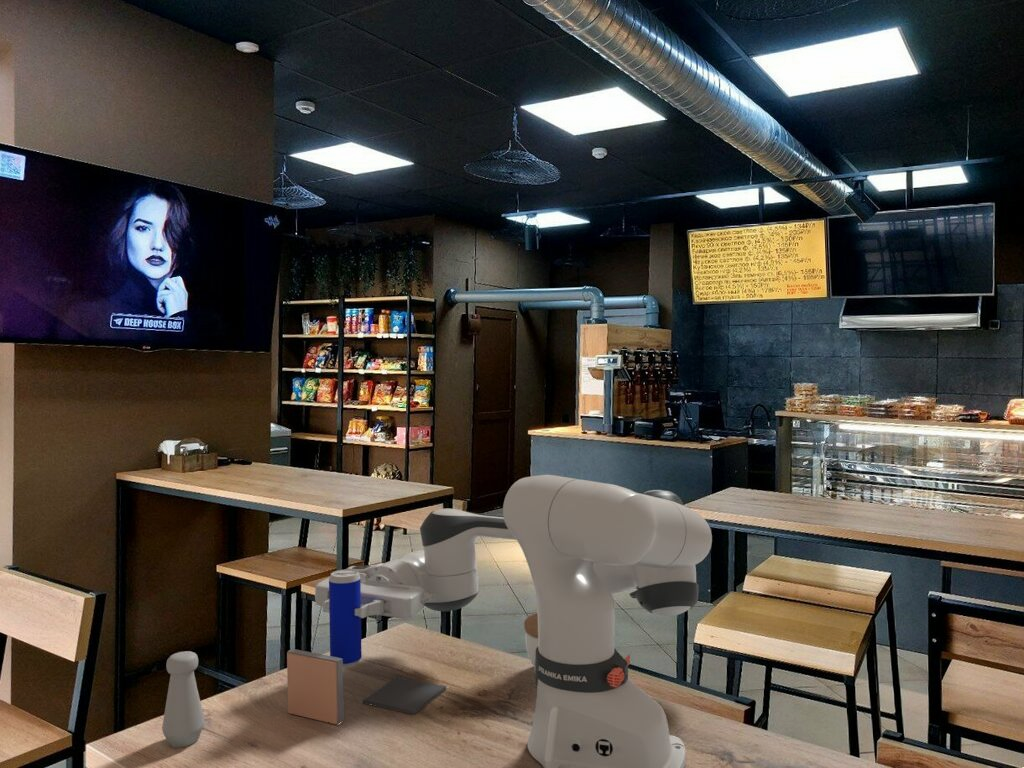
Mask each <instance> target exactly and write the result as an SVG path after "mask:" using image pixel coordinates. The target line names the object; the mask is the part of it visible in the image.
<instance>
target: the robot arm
mask: <svg viewBox="0 0 1024 768" xmlns="http://www.w3.org/2000/svg"><path fill="white" fill-rule="evenodd" d="M419 531H420V538H421V542H422V547H423V549H420V550H415V551H410V552H408V553H406V554H404V555H401V556H399V557H398V558H397V559H392V560H389V561H387V562H385V563H384V562H381V563H376V564H371V565H369V564H368V565H351V566H349V567H347V568H346V569H351V570H356V571H358V572H359V575H360V579H361V604H360V605H358V606H356V607H355V610H354V611H355V617H358V618H361V619H364V618H365V619H366V617H369V616H377V615H378V616H384V617H390V618H396V619H403V620H404V619H405V620H406V619H412V618H413V617H415V616H416V615H418V614H419V613H420V612H421V611H423V609H424V608H425V607H426V608H428V609H430V610H432V611H437V612H453V611H457V610H460V609H463V608H464V607H466V606H467V605H469V604H470V603H471V602H472V601H474V600H475V599H476V597H477V595H478V594H479V592H480V591H479V575H478V566H477V556H476V545H475V541H476V538H477V537H482V538H483V537H484V538H491V539H492V538H493V539H494V538H495V539H503V540H513V541H514V540H515V541H516V542H517V543H518V544H519V546H520V548H521V551H522V553H523V555H524V558H525V560H526V562H527V565H528V569H529V573H530V576H531V580H532V583H533V587H534V590H535V591H534V592H535V597H536V610H537V611H536V613H537V615H538V647H537V648H536V653H535V666H534V677H535V685H536V686H537V687H536V699H535V706H534V707H535V709H534V714H533V721H532V725H531V729H530V733H529V736H528V741H527V750H528V752H529V753H530V755H531V756H532V757H533V758H534V759H535V760H536V761H537V762H538V763H540V764H541V765H542V767H543V768H685V765H686V760H687V754H686V753H687V752H686V747H685V744H684V742H683V740H682V738H681V737H680V738H679V737H677V736H675V735H672V734H670V730H669V724H668V723H669V722H668V718H667V715H666V712H665V711H664V709H663V707H662V706H661V704H659V703H658V702H657V701H655V699H654V698H652V697H651V696H650V695H649V694H648V693H646V691H644V690H643V689H641V688H640V687H639V686H638V685H637V684H636V683H635V682H634V681H633V680H632V679H631V678H629V665H630V664H631V661H630V660H631V658H630V657H631V655H630V654H627V655H626V657H625V658H624V656H622V655H621V654H620V653H619V652H618V651H617V649H616V648H615V646H616V645H615V641H616V640H615V600H614V597H613V595H614V594H620V593H623V592H627V591H631V590H634V589H636V590H634V591H632V592H630V593H629V596H630V598H632V599H636V601H637V602H638V604H639V605H640V606H641V608H643V609H645V610H646V611H647V612H648V613H651V614H656V615H659V616H663V617H672V616H679V615H681V614H684V613H685V612H687V611H688V610H691V609H694V607H695V606H696V605H697V603H698V601H699V583H697V570H696V568H697V567H696V565H698V564H699V563H701V562H703V560H705V558H706V557H707V556H708V554H709V553H710V550H711V548H712V543H713V535H712V529H711V527H710V525H709V523H708V522H707V520H706V519H705V518H704V517H703V516H702V515H701V514H700V513H698V512H696V511H695V510H694V509H692V508H689V507H687V506H685V505H684V503H683V501H682V499H681V497H680V496H678V495H677V494H676V493H674V492H673V491H669V490H662V489H653V490H648V491H645V492H640V493H639V492H635V491H634V490H632V489H629V488H626V487H623V486H620V485H617V484H612V483H606V482H601V481H600V482H599V481H594V480H593V481H592V480H586V479H579V478H574V477H573V478H572V477H566V476H560V475H552V474H540V475H533V476H532V475H531V476H525V477H522V478H520V479H518V480H517V481H515V482H514V483H513V484H512V485H511V486H510V488H509V489H508V490H507V493H506V494H505V497H504V501H503V505H502V514H501V515H500V514H492V513H491V514H490V513H489V514H488V513H478V512H473V511H465V510H462V509H457V508H449V507H448V508H439V509H436V510H432V511H431V512H430V513H429V514H428V515H427V516H426V518H425V519H424V520H423V522H422V523H421V526H420V528H419ZM329 578H330V576H329V577H327V578H326V579H325V578H324V579H323V580H321V581H319V582H318V583H317V584H316V585H315V589H314V599H315V604H316V605H317V606H320V607H321V606H322V612H323V613H327V614H329Z"/></svg>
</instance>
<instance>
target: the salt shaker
mask: <svg viewBox="0 0 1024 768" xmlns="http://www.w3.org/2000/svg"><path fill="white" fill-rule="evenodd" d="M165 666H166V667H165V669H166V671H167V673H168V674H170V677H169V683H168V688H167V695H166V702H165V707H164V713H163V714H164V715H163V721H162V726H161V729H162V734H163V736H164V737H165V739H166V741H167V744H168V745H170V746H171V747H172V748H173V749H175V748H176V749H177V748H187V747H190V746H191V745H193V744H195V743H197V742H198V741H199V739H200V735H201V733H202V731H203V728H204V727H205V724H206V723H205V722H206V719H205V715H204V711H203V706H202V703H201V698H200V694H199V690H198V687H197V686H198V685H197V680H196V677H195V670H196V669H197V668H198V666H199V657H198V654H197V653H196V652H193V651H191V650H189V651H188V650H187V651H178V652H175V653H173V654H171V655H170V656H169V657H168V658H167V660H166V665H165Z"/></svg>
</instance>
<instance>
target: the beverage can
mask: <svg viewBox="0 0 1024 768" xmlns="http://www.w3.org/2000/svg"><path fill="white" fill-rule="evenodd" d="M329 577H330V578H329ZM329 577H328V578H329V613H328V614H329V656H332V657H337V658H343V668H344V667H347V668H348V667H352V666H355V665H357V664H358V663H359V662H360V661H361V659H362V618H358V617H355V611H354V610H355V607H356V606H358V605H360V604H361V579H360V575H359V572H358V571H356V570H351V569H347V568H345V569H339V570H335V571H332V572H331V573H330V576H329Z"/></svg>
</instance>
